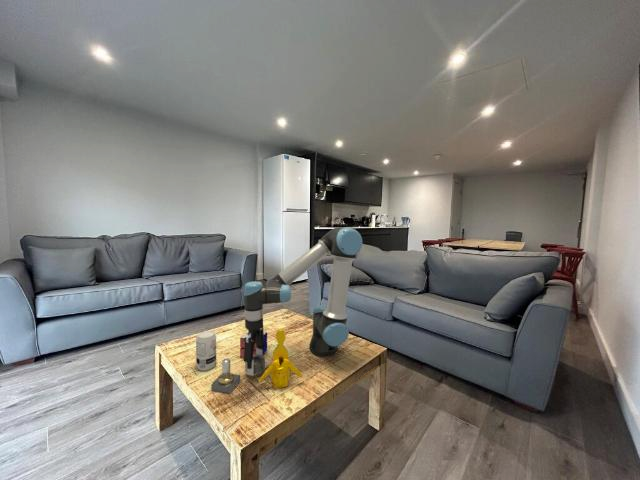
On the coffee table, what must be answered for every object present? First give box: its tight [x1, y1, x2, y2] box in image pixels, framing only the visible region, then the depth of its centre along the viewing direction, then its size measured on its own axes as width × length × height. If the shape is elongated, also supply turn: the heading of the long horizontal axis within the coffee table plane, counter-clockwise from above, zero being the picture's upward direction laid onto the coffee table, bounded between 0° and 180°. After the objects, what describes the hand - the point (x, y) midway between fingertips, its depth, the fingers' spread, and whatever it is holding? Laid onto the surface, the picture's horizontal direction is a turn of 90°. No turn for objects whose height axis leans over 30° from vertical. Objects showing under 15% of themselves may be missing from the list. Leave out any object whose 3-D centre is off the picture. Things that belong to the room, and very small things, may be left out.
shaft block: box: [210, 358, 241, 395], centre depth 101 cm, size 8×8×10 cm
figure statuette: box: [258, 327, 303, 390], centre depth 103 cm, size 18×8×22 cm, turn 104°
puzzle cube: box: [239, 330, 268, 359], centre depth 126 cm, size 10×10×10 cm
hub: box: [244, 354, 266, 376], centre depth 110 cm, size 8×8×5 cm
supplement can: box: [195, 330, 217, 372], centre depth 114 cm, size 8×8×15 cm
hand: (255, 368), depth 110 cm, fingers closed on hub, 8 cm apart
